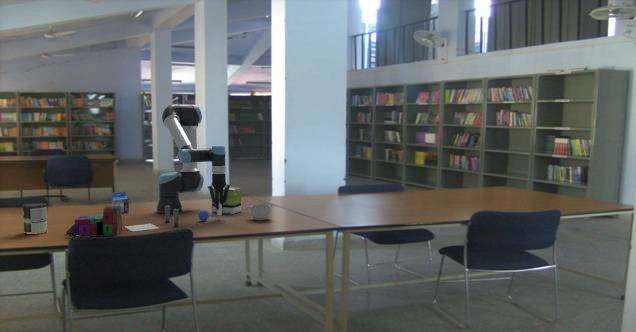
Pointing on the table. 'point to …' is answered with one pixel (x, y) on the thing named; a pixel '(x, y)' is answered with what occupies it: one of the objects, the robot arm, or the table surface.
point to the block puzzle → (99, 222)
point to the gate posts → (175, 215)
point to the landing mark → (141, 227)
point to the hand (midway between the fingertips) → (219, 214)
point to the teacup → (259, 211)
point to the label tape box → (121, 201)
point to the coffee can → (35, 217)
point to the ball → (203, 215)
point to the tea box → (230, 201)
